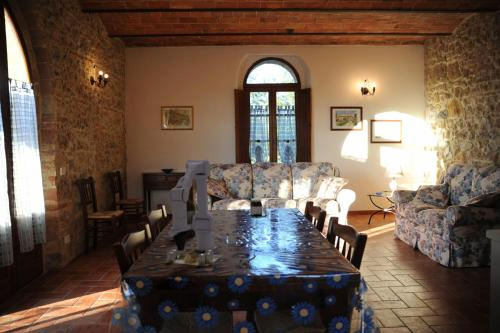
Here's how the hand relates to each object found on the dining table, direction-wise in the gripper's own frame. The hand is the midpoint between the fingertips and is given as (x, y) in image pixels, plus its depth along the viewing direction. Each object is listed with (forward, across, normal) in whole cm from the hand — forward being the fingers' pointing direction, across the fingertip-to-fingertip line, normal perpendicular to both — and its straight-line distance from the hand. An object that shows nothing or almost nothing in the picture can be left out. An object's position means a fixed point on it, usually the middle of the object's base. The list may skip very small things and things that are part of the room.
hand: (180, 250), depth 165 cm
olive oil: (+8, -53, -28) cm, 60 cm away
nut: (+6, -8, 0) cm, 10 cm away
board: (+8, -11, 0) cm, 13 cm away
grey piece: (+7, -8, 0) cm, 11 cm away
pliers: (+8, -18, +22) cm, 30 cm away
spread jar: (+7, -123, -10) cm, 124 cm away
